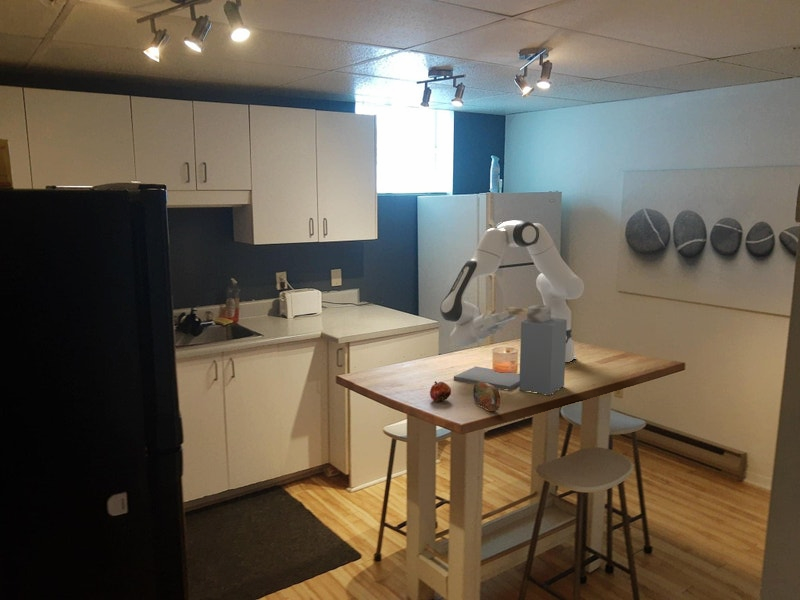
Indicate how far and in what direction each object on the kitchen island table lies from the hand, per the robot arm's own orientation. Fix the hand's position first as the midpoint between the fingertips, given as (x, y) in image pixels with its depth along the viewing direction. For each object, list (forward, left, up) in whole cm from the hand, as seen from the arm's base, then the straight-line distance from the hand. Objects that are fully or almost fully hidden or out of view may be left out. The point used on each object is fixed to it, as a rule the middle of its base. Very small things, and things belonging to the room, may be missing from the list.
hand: (514, 311), depth 237 cm
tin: (+26, -19, -29) cm, 43 cm away
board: (-6, -6, -28) cm, 30 cm away
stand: (+9, +8, -28) cm, 31 cm away
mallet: (+4, +3, -2) cm, 6 cm away
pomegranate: (+17, -33, -29) cm, 46 cm away
